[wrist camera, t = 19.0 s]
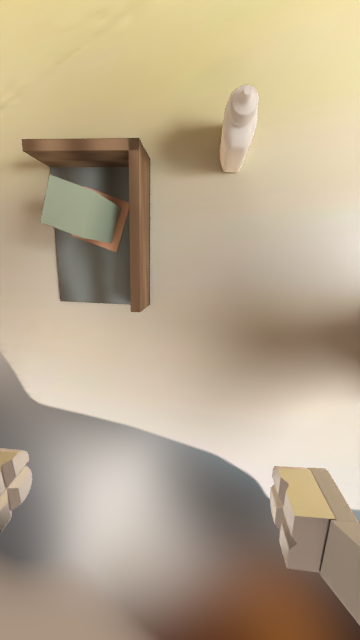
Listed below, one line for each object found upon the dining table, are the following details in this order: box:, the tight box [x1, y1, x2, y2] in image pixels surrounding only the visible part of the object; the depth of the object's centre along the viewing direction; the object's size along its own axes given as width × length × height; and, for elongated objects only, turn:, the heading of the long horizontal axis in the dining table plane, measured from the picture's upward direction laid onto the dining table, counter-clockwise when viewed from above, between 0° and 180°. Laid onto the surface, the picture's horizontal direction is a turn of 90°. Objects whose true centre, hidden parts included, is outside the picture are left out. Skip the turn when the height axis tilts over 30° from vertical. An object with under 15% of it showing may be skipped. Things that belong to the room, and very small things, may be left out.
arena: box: [22, 138, 150, 312], centre depth 34 cm, size 14×20×6 cm
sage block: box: [40, 175, 121, 243], centre depth 32 cm, size 5×5×9 cm
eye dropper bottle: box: [220, 85, 259, 172], centre depth 27 cm, size 4×6×12 cm
